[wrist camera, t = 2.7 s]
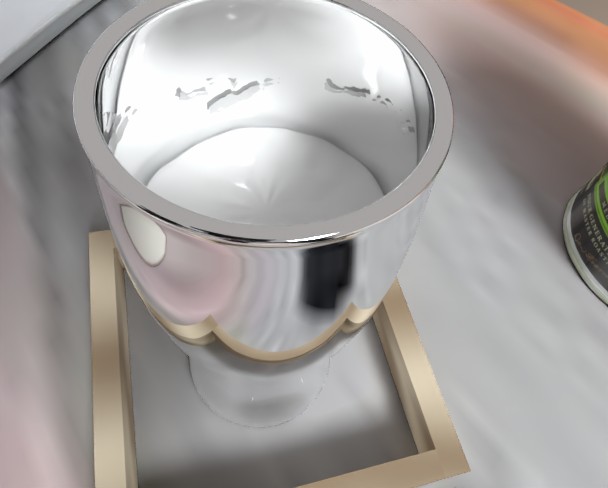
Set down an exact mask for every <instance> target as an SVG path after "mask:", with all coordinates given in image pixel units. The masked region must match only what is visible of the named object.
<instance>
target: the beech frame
mask: <svg viewBox="0 0 608 488" xmlns="http://www.w3.org/2000/svg"><path fill="white" fill-rule="evenodd" d="M89 264H90V304H91V343H92V382H93V422H94V461H95V488H138V477H137V462H136V447H135V431H134V416H133V401H132V386H131V371H130V355H129V340H128V325H127V310H126V294H125V279H124V269H126V268H125V266H124V264H123V261H122V259H121V256H120V254H119V251H118V249H117V247H116V244H115V242H114V239H113V236H112V233H111V230H103V231H97V232H90V233H89ZM372 317H373V320H374V323H375V326H376V329H377V332H378V334H379V337H380V340H381V343H382V346H383V349H384V352H385V355H386V358H387V361H388V364H389V367H390V370H391V373H392V376H393V379H394V382H395V385H396V388H397V391H398V394H399V396H400V399H401V402H402V405H403V408H404V411H405V414H406V417H407V420H408V423H409V426H410V429H411V432H412V435H413V438H414V441H415V444H416V447H417V450H418V453H419V454H416V455H413V456H409V457H405V458H402V459H398V460H394V461H391V462H387V463H383V464H379V465H376V466H372V467H368V468H365V469H361V470H357V471H354V472H350V473H346V474H343V475H339V476H335V477H331V478H328V479H324V480H320V481H317V482H313V483H309V484H306V485H302V486H298V487H295V488H414V487H417V486H421V485H424V484H428V483H431V482H435V481H438V480H442V479H445V478H449V477H452V476H456V475H459V474H463V473H466V472H470V471H471V470H470V468H469V465H468V462H467V460H466V457H465V455H464V452H463V449H462V447H461V444H460V442H459V439H458V436H457V434H456V431H455V428H454V426H453V423H452V421H451V418H450V415H449V413H448V410H447V408H446V405H445V402H444V400H443V397H442V394H441V392H440V389H439V387H438V384H437V381H436V379H435V376H434V374H433V371H432V368H431V366H430V363H429V360H428V358H427V355H426V353H425V350H424V347H423V345H422V342H421V340H420V337H419V334H418V332H417V329H416V326H415V324H414V321H413V319H412V316H411V313H410V311H409V308H408V306H407V303H406V300H405V298H404V295H403V292H402V290H401V287H400V285H399V282H398V279H397V277H396V278H395V280H394V282H393V284H392V286H391V287H390V289H389V291H388V292H387V294H386V295H385V297H384V299H383V300H382V302H381V303H380V305H379V306H378V308H377V310H376V311H375V313H374V314H373V316H372Z"/></svg>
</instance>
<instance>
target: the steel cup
mask: <svg viewBox="0 0 608 488" xmlns="http://www.w3.org/2000/svg"><path fill="white" fill-rule="evenodd" d="M73 115H74V122H75V126H76V131H77V134H78V137H79V140H80V142H81V145H82V147H83V149H84V151H85V153H86V155H87V156H88V159H89V162H90V165H91V168H92V171H93V175H94V178H95V182H96V185H97V189H98V192H99V196H100V199H101V202H102V205H103V209H104V212H105V215H106V218H107V221H108V224H109V227H110V230H111V233H112V236H113V239H114V242H115V244H116V247H117V249H118V251H119V254H120V256H121V259H122V261H123V264H124V266H125V268H126V271H127V273H128V276H129V278H130V280H131V282H132V283H133V285H134V287H135V289H136V291H137V292H138V294H139V296H140V298H141V299H142V301H143V303H144V304H145V306H146V308H147V310H148V311H149V313H150V314H151V316H152V317H153V319H154V320H155V321H156V322H157V324H158V325H159V326H160V327H161V328H162V329H163V330H164V332H165V333H166V334H167V335H168V336H169V337H170V338H171V339H172V340H173V342H174V343H175V344H176V345H177V346H178V347H179V348H180V349H181V350H183V351H184V352H185V353H186V354H187V355H189V356H190V371H191V376H192V379H193V383H194V385H195V388H196V390H197V392H198V394H199V395H200V397H201V398H202V400H203V401H204V402H205V404H206V405H207V406H208V407H209V408H210V409H211V410H212V411H213V412H215V413H216V414H217V415H219V416H220V417H222V418H223V419H225V420H227V421H229V422H232V423H234V424H237V425H240V426H245V427H252V428H264V427H272V426H276V425H280V424H283V423H285V422H288V421H290V420H292V419H294V418H296V417H297V416H299V415H300V414H302V413H303V412H304V411H305V410H306V409H308V408H309V407H310V406H311V404H312V403H313V402H314V401H315V399H316V398H317V397H318V395H319V394H320V392H321V390H322V388H323V386H324V384H325V381H326V379H327V375H328V372H329V367H330V358H332V357H333V356H334V355H336V354H337V353H338V352H339V351H341V350H342V349H343V348H344V347H345V346H346V345H347V344H348V343H349V342H350V341H351V340H352V339H353V338H354V337H355V336H356V335H357V334H358V333H359V332H360V331H361V329H362V328H363V327H364V326H365V325H366V324H367V323H368V321H369V320H370V319H371V317H372V316H373V314H374V313H375V311H376V310H377V308H378V306H379V305H380V303H381V302H382V300H383V299H384V297H385V295H386V294H387V292H388V291H389V289H390V287H391V286H392V284H393V282H394V280H395V278H396V276H397V274H398V271H399V269H400V267H401V265H402V263H403V261H404V259H405V257H406V255H407V253H408V251H409V248H410V246H411V243H412V240H413V238H414V235H415V233H416V230H417V228H418V225H419V223H420V220H421V217H422V215H423V212H424V209H425V206H426V203H427V200H428V198H429V195H430V192H431V189H432V186H433V184H434V181H435V178H436V176H437V174H438V172H439V171H440V169H441V167H442V165H443V163H444V161H445V159H446V157H447V155H448V152H449V149H450V145H451V141H452V136H453V130H454V108H453V102H452V97H451V93H450V90H449V87H448V84H447V82H446V79H445V77H444V75H443V73H442V71H441V69H440V67H439V66H438V64H437V62H436V61H435V59H434V58H433V56H432V55H431V54H430V52H429V51H428V50H427V49H426V47H425V46H424V45H423V44H422V43H421V42H420V41H419V40H418V39H417V38H416V37H415V36H414V35H413V34H412V33H411V32H410V31H409V30H407V29H406V28H405V27H404V26H402V25H401V24H400V23H398V22H397V21H396V20H394V19H393V18H391V17H390V16H388V15H387V14H385V13H384V12H382V11H380V10H379V9H377V8H375V7H373V6H371V5H369V4H367V3H365V2H363V1H361V0H148V1H146V2H144V3H142V4H140V5H138V6H136V7H135V8H133V9H132V10H130V11H128V12H127V13H125V14H124V15H123V16H121V17H120V18H119V19H117V20H116V21H115V22H114V23H112V24H111V25H110V26H109V27H108V28H107V29H106V30H105V31H104V32H103V33H102V34H101V35H100V36H99V38H98V39H97V40H96V41H95V43H94V44H93V45H92V47H91V48H90V50H89V51H88V53H87V55H86V56H85V58H84V60H83V62H82V64H81V67H80V69H79V72H78V74H77V78H76V81H75V86H74V93H73Z"/></svg>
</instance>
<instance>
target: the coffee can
mask: <svg viewBox="0 0 608 488" xmlns="http://www.w3.org/2000/svg"><path fill="white" fill-rule="evenodd" d="M563 233H564V240H565V244H566V248H567V251H568V253H569V256H570V258H571V260H572V262H573V263H574V265H575V267H576V268H577V270H578V273H579V274H580V275H581V277H582V278H583V280H584V281H585V283H586V284H587V285H588V286H589V287H590V289H591V290H592V291H593V292H594V293H595V294H596V295H597V296H598V297H599V298H600V299H601V300H602V301H603V302H604V303H605V304H607V305H608V163H607V164H606V165H605V166H604V167H603V168H602V169H601V170H600V171H599V172H598V173H597V174H596V175H595V176H594V177H593V178H592V179H591V180H590V181H589V182H588V183H587V184H586V185H585V186H584V187H582V188H581V189H580V190H579V191H577V192H576V194H575V195H574V196H573V197H572V198H571V199H570V201H569V203H568V205H567V207H566V210H565V214H564V218H563Z"/></svg>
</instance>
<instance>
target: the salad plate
mask: <svg viewBox="0 0 608 488" xmlns="http://www.w3.org/2000/svg"><path fill="white" fill-rule="evenodd" d="M100 1H101V0H0V82H1V81H3V80H4V79H5V78H6V77H7V76H9V75H10V74H11V73H12V72H13V71H15V70H16V69H17V68H18V67H19V66H21V65H22V64H23V63H24V62H26V61H27V60H28V59H29V58H30V57H32V56H33V55H34V54H35V53H36V52H38V51H39V50H40V49H41V48H42V47H44V46H45V45H46V44H47V43H49V42H50V41H51V40H52V39H53V38H55V37H56V36H57V35H58V34H59V33H61V32H62V31H63V30H64V29H66V28H67V27H68V26H69V25H70V24H72V23H73V22H74V21H75V20H77V19H78V18H79V17H80V16H81V15H83V14H84V13H85V12H87V11H88V10H89V9H90V8H92V7H93V6H94V5H96V4H97V3H98V2H100Z"/></svg>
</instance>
